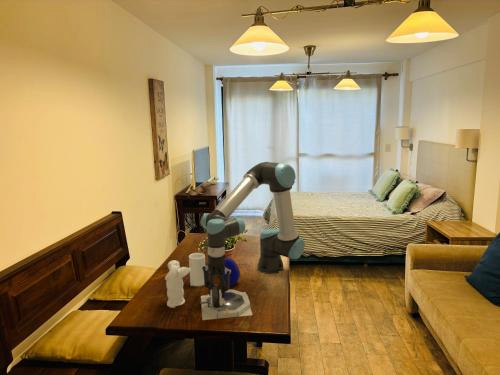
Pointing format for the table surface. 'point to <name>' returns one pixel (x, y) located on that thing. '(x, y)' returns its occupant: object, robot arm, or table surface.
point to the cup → (196, 269)
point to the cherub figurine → (175, 283)
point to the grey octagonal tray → (214, 314)
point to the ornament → (234, 273)
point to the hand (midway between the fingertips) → (217, 302)
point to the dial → (229, 303)
